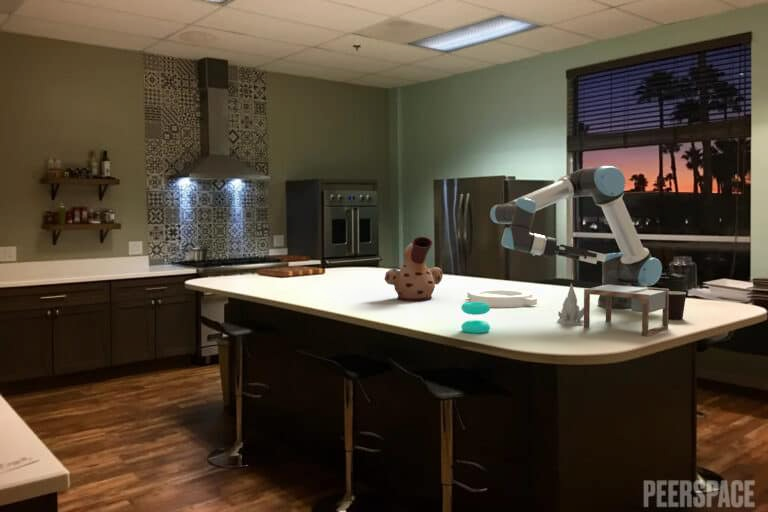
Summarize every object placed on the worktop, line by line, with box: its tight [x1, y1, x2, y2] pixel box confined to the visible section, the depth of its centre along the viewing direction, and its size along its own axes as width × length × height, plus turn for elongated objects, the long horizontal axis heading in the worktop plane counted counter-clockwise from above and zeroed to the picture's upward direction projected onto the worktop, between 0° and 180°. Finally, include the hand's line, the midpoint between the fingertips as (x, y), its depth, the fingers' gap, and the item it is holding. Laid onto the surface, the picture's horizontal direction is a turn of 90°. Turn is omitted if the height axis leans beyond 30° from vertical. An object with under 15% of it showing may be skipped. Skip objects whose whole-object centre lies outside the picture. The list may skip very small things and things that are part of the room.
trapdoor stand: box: [583, 284, 670, 337], centre depth 231 cm, size 23×19×14 cm
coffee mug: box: [668, 290, 687, 321], centre depth 251 cm, size 12×9×10 cm
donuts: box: [460, 301, 491, 334], centre depth 229 cm, size 10×10×10 cm
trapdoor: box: [588, 285, 665, 314], centre depth 231 cm, size 22×15×7 cm
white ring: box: [467, 288, 538, 308], centre depth 297 cm, size 28×28×5 cm
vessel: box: [384, 236, 444, 302], centre depth 309 cm, size 29×22×30 cm
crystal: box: [556, 282, 584, 326], centre depth 245 cm, size 10×13×15 cm
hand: (601, 259), depth 240 cm, fingers open, 13 cm apart
